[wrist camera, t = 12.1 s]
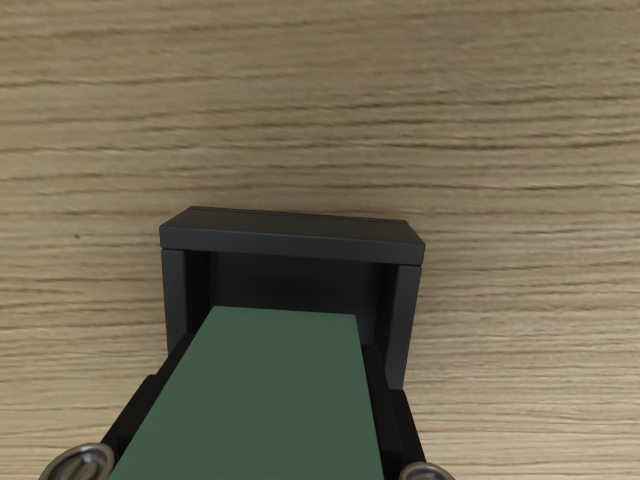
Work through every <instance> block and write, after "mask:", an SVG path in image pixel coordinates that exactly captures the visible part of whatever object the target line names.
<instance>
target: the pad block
mask: <svg viewBox="0 0 640 480" xmlns="http://www.w3.org/2000/svg"><path fill="white" fill-rule="evenodd" d="M108 480H384V477H383V471H382V465H381V459H380V454H379V448H378V442H377V436H376V431H375V425H374V419H373V413H372V408H371V402H370V396H369V391H368V385H367V379H366V373H365V368H364V362H363V356H362V350H361V345H360V339H359V333H358V327H357V322H356V316H355V315H350V314H334V313H319V312H303V311H287V310H272V309H256V308H240V307H225V306H213V308H212V310H211V311H210V313H209V315H208V316H207V318H206V319H205V321H204V323H203V324H202V326H201V328H200V329H199V331H198V333H197V334H196V336H195V337H194V339H193V341H192V342H191V344H190V346H189V347H188V349H187V351H186V352H185V354H184V355H183V357H182V359H181V360H180V362H179V364H178V365H177V367H176V369H175V370H174V372H173V373H172V375H171V377H170V378H169V380H168V382H167V383H166V385H165V387H164V388H163V390H162V391H161V393H160V395H159V396H158V398H157V400H156V401H155V403H154V405H153V406H152V408H151V409H150V411H149V413H148V414H147V416H146V418H145V419H144V421H143V423H142V424H141V426H140V427H139V429H138V431H137V432H136V434H135V436H134V437H133V439H132V441H131V442H130V444H129V445H128V447H127V449H126V450H125V452H124V454H123V455H122V457H121V459H120V460H119V462H118V463H117V465H116V467H115V468H114V470H113V472H112V473H111V475H110V477H109V478H108Z"/></svg>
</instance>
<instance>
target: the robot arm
mask: <svg viewBox="0 0 640 480" xmlns="http://www.w3.org/2000/svg"><path fill="white" fill-rule="evenodd" d="M195 336H196V334H186V333H185V334H183V335H182V337H181V338H180V340H179V341H178V343H177V344H176V346H175V347H174V349H173V350H172V352H171V353H170V355H169V356H168V358H167V359H166V361H165V362H164V364H163V365H162V367H161V368H160V369H159V371H158V372H157V374H156V375H152V374H151V375H149V376H147V377H146V378H145V380H144V381H143V383H142V384H141V385H140V387H139V388H138V390H137V391H136V392H135V394H134V395H133V397H132V398H131V399H130V401H129V402H128V404H127V405H126V407H125V408H124V409H123V411H122V412H121V414H120V415H119V416H118V418H117V419H116V421H115V422H114V424H113V425H112V426H111V428H110V429H109V431H108V432H107V433H106V435H105V436H104V438H103V439H102V441H101V442H100V443H87V444H82V445H78V446H76V447H74V448H71V449H69V450H67V451H65V452H64V453H62V454H61V455H59V456H57V457H56V458H55V459H54V460H53V461H52V462H51V463H50V464H49V465H48V466H47V467H46V468H45V470H44V471H43V473H42V474H41V476H40V478H39V479H38V480H108V478H109V477H110V475H111V473H112V472H113V470H114V468H115V467H116V465H117V463H118V462H119V460H120V459H121V457H122V455H123V454H124V452H125V450H126V449H127V447H128V445H129V444H130V442H131V441H132V439H133V437H134V436H135V434H136V432H137V431H138V429H139V427H140V426H141V424H142V423H143V421H144V419H145V418H146V416H147V414H148V413H149V411H150V409H151V408H152V406H153V405H154V403H155V401H156V400H157V398H158V396H159V395H160V393H161V391H162V390H163V388H164V387H165V385H166V383H167V382H168V380H169V378H170V377H171V375H172V373H173V372H174V370H175V369H176V367H177V365H178V364H179V362H180V360H181V359H182V357H183V355H184V354H185V352H186V351H187V349H188V347H189V346H190V344H191V342H192V341H193V339H194V337H195ZM361 350H362V356H363V362H364V368H365V373H366V379H367V385H368V391H369V396H370V402H371V408H372V413H373V419H374V425H375V431H376V436H377V442H378V448H379V454H380V459H381V465H382V471H383V477H384V480H455V479H454V478H453V477H452V476H451V475H450V474H449V473H448V472H447V471H445V470H444V469H442V468H441V467H439V466H437V465H434V464H432V463H429V462H426V459H425V456H424V453H423V449H422V446H421V443H420V440H419V436H418V433H417V430H416V427H415V424H414V420H413V417H412V414H411V411H410V407H409V404H408V401H407V398H406V395H405V392H404V391H403V390H397V389H389V387H388V383H387V379H386V375H385V371H384V367H383V363H382V359H381V355H380V351H379V347H378V346H377V345H362V344H361Z"/></svg>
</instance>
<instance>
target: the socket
mask: <svg viewBox="0 0 640 480" xmlns="http://www.w3.org/2000/svg"><path fill="white" fill-rule="evenodd" d="M159 231H160V246H161V248H163V249H162V250H161V259H162V273H163V288H164V303H165V318H166V332H167V347H168V356H169V355H170V353H171V352H172V350H173V349H174V347H175V346H176V344H177V343H178V341H179V340H180V338H181V337H182V335H183V334H185V333H186V334H197V333H198V331H199V329H200V328H201V326H202V324H203V323H204V321H205V319H206V318H207V316H208V315H209V313H210V311H211V310H212V308H213V306H225V307H240V308H256V309H272V310H287V311H303V312H319V313H334V314H350V315H355V316H356V322H357V327H358V333H359V339H360V345H361V344H362V345H377V346H378V347H379V351H380V355H381V359H382V363H383V367H384V371H385V375H386V379H387V383H388V387H389V389H397V390H402V387H403V381H404V375H405V369H406V363H407V356H408V350H409V344H410V338H411V332H412V326H413V319H414V313H415V307H416V301H417V295H418V289H419V283H420V276H421V270H422V267H421V265H422V263H423V258H424V252H425V243H424V242H423V241H422V239H421V238H420V237H419V236H418V235H417V234H416V232H415V231H414V230H413V229H412V228H411V227H410V225H409V224H408V223H407V221H403V220H388V219H373V218H358V217H344V216H329V215H314V214H300V213H285V212H270V211H256V210H241V209H226V208H211V207H197V206H191V207H189V208H188V209H187V210H185V211H183V212H182V213H180V214H178V215H177V216H175V217H173V218H172V219H170V220H168V221H167V222H165V223H163V224H162V225H160V227H159Z"/></svg>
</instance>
